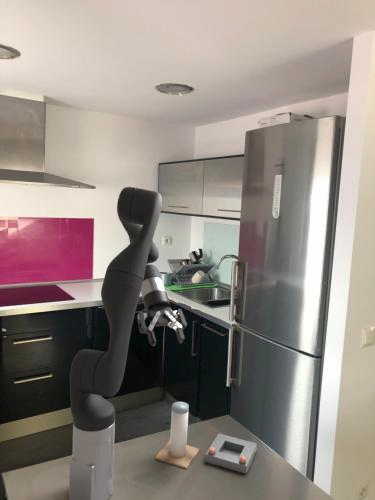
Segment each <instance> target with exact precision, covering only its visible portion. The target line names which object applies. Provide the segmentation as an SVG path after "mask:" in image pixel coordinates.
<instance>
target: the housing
mask: <svg viewBox="0 0 375 500" xmlns="http://www.w3.org/2000/svg"><path fill="white" fill-rule="evenodd" d="M257 446H258V443H256V442H252V441H248V440H245V439H242V438H241V439H240V438H237V437H234V436H231V435H226V434H223V433H218V434H217V436H216V437H215V438H214V440H213V442H212V443H211V444H210V446H209V448H207V449H208V450H207V451H206V452H205V454H204V462H205V463H208V464H212V465H214V466H217V467H218V466H219V467H222V468H225V469H228V470H232V471H236V472H239V473H242V474H245V475H246V474H247V472H248V471H249V468H250V467H251V464H252V462H253V459H254V457H255V456H256V455H255V454H256V452H257Z"/></svg>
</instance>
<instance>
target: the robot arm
mask: <svg viewBox="0 0 375 500" xmlns="http://www.w3.org/2000/svg"><path fill="white" fill-rule="evenodd" d="M162 206H163V196H162V195H161V193H160V192H157V191H154V190H149V189H145V188H140V187H133V186H126V187H123V188H122V189H121V191H120V192H119V195H118V199H117V204H116V213H117V216H118V219H119V221H120V223H121V225H122V227H123V229H124V231H125V232H126V234H127V236H128V240H129V244H128V245H127V246H126V247H125V248H124V249H122V251H120V252H119V253H118V254H117V255H116V256H115V257H114V258H113V259H112V260H111V261H110V262H109V264H108V266H107V267H106V271H105V275H104V278H103V282H102V285H101V289H100V297H101V302H102V304H103V308H104V311H105V313H106V314H105V315H106V317H107V320H108V323H109V324H108V325H109V331H110V335H109V344H108V350H107V351H102V350H97V349H91V348H90V349H89V348H83V349H81V350H79V351H78V352H77V353H76V354H75V356H74V358H73V359H72V362H71V365H70V370H69V371H70V373H69V390H70V391H69V395H70V412H71V415H72V453H71V454H72V455H71V456H72V458H70V460H69V477H68V480H69V483H68V484H69V485H68V487H69V488H68V500H109V499H110V498H111V497H112V495H113V491H114V466H115V465H114V461H115V431H116V430H115V429H116V424H115V423H116V409H115V406H114V405H113V404H112V403H111V402H110V401H109V400H108V399H106V398H104V397H108V398H111V397H114V396H115V395H116V394H117V393H118V391H119V390H120V388H121V385H122V384H123V379H124V374H125V371H126V364H127V359H128V351H129V345H130V339H131V335H132V334H131V332H132V328H133V327H132V326H133V323H134V319H135V314H136V311H137V307H138V302H139V299H140V296H141V298H142V302H143V305H144V310H145V312H143V311H142V310H141V311H139V312H138V314H137V316H136V318H137V324H138V330H139V333H140V334H145V335H147V339H148V343H149V345H151V347H156V345H157V343H158V341H157V339H156V335H155V331H153V330H154V327H157V328H158V327H169V328H170V329H173V330H174V331H175V335H176V338H177V341H178V344H182V343H183V342H184V341H185V339H186V338H185V334H184V329H185V328H186V327H187V325H188V322H187V321H186V317H185V315H184V313H183V311H182V309H181V308H178V309H177V310H172V308H171V303H170V300H169V297H168V294H167V290H166V287H165V284H164V282H163V280H162V277H161V273H160V270H159V268H158V267H157V265H155V264H153V263H155V262H157V260H158V259H159V256H160V252H159V249H158V247H157V245H156V243H155V242H154V240H153V239H154V236H155V232H156V229H157V226H158V223H159V222H158V221H159V219H160V216H161V211H162ZM146 319H147V320H149V322H150V323H149V326H147V325H146Z"/></svg>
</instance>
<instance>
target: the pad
mask: <svg viewBox="0 0 375 500" xmlns="http://www.w3.org/2000/svg"><path fill="white" fill-rule="evenodd" d="M200 450H201V449H200V448H198V447H195V446H192V445H189V444H186V455H185V456H183V457H179V458H177V457H173V456H171V455H170V453H169V452H170V440H168V441H167V443H166V444H165V445H164V447H162V448H161V450H160V451H158V453H157V455H156V456H155V457H154V460H156V461H159V462H163V463H166V464H169V465H172V466H175V467H179V468H181V469H185V470H188V468H189V467H190V465H191V464H192V463H193V462H194V459H195V458H196V456H197V455H198V454H199V452H200Z"/></svg>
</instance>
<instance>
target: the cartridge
mask: <svg viewBox="0 0 375 500" xmlns="http://www.w3.org/2000/svg"><path fill="white" fill-rule="evenodd" d="M189 407H190V405H189V403H187V402H185V401H175V402H173V403H172V404H171V417H170V420H171V421H170V434H169V435H170V437H169V441H170V452H169V453H170V455H171V456H173V457H177V458H179V457H183V456H185V455H186V445H188V444H187V442H188V427H189V426H188V425H189V411H190V410H189Z"/></svg>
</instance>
